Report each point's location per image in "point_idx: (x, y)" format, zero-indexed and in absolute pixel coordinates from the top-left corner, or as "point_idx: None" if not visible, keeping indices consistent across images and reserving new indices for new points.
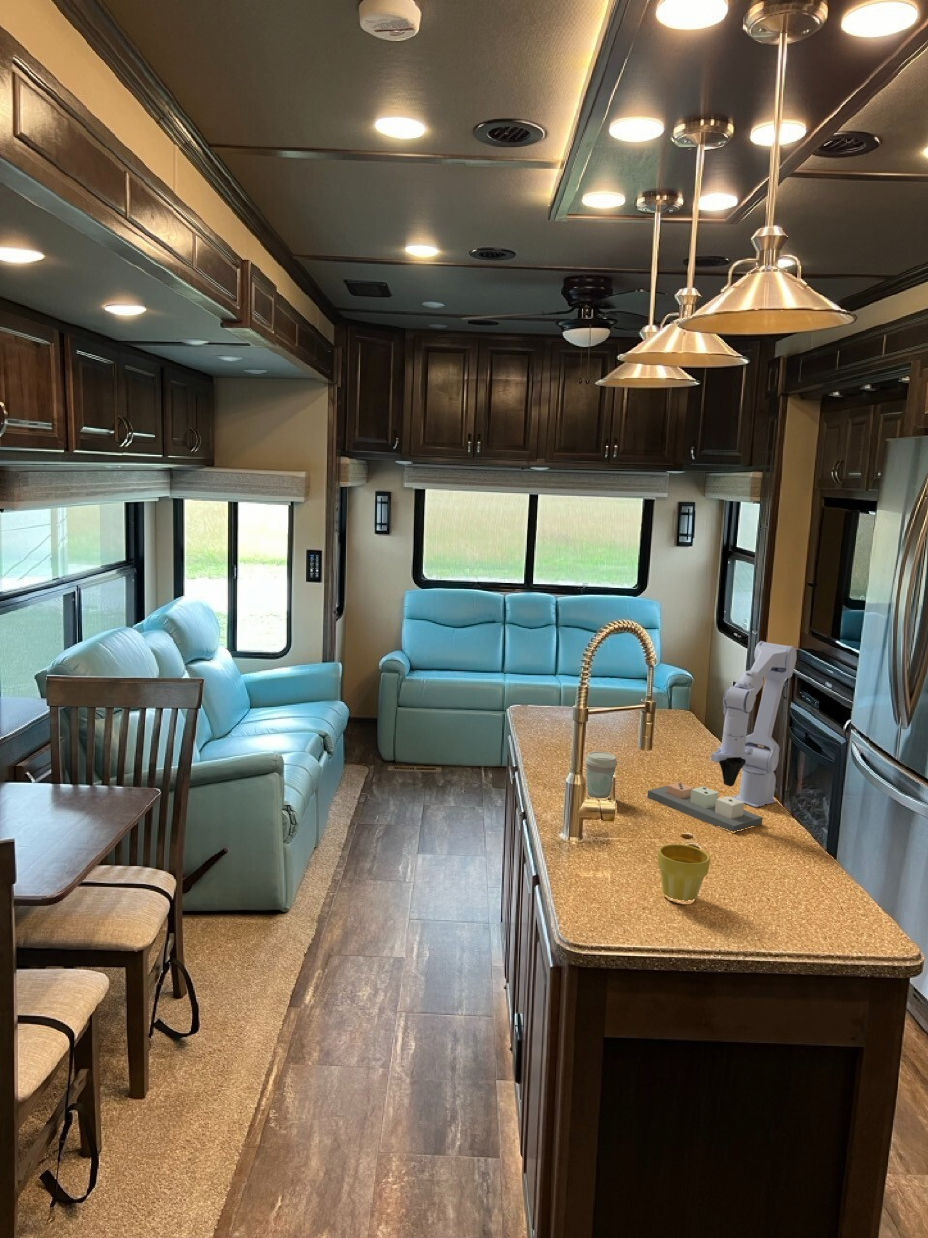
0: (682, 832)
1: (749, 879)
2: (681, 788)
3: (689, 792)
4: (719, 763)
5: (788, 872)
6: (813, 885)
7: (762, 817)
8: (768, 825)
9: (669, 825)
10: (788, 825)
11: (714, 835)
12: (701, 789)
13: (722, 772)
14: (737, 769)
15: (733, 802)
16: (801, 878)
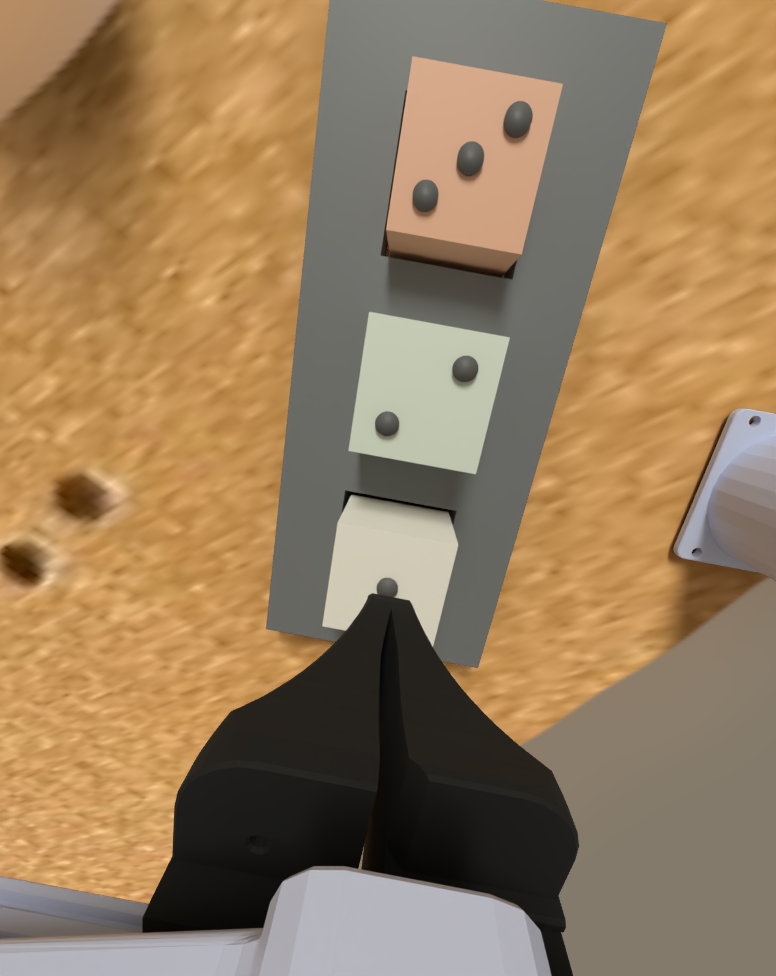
0: (97, 465)
1: (4, 772)
2: (417, 201)
3: (471, 254)
4: (266, 697)
5: (154, 822)
6: (142, 879)
7: (477, 667)
8: (490, 661)
9: (106, 382)
10: (555, 709)
11: (196, 567)
12: (430, 364)
13: (336, 644)
14: (366, 837)
15: None
16: (152, 852)
